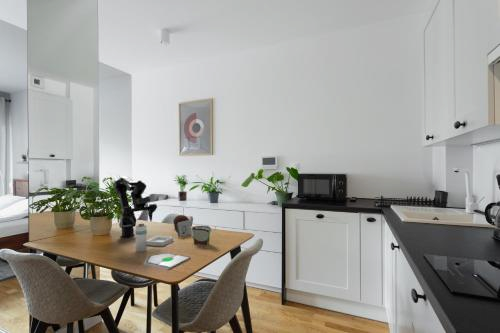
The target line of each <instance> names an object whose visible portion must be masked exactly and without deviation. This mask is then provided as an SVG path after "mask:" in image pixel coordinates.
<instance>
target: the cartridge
mask: <svg viewBox="0 0 500 333" xmlns="http://www.w3.org/2000/svg"><path fill="white" fill-rule="evenodd" d="M147 228H148V227H147V225H146V224H145V223H138V225H135V252H145V251H147V246H148V245H147V240H148V239H147V237H148V236H147V233H148V230H147Z"/></svg>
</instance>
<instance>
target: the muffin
mask: <svg viewBox="0 0 500 333" xmlns="http://www.w3.org/2000/svg"><path fill="white" fill-rule="evenodd" d="M172 221H173V227H174V230H175V231H177V226H176V224H178V223H179V222H183V221H190V219H189V217H188V216H187V215H184V214H179V215H177V216H175V217H174V218H173V220H172ZM178 230H179V228H178Z"/></svg>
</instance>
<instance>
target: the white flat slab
mask: <svg viewBox="0 0 500 333" xmlns="http://www.w3.org/2000/svg"><path fill="white" fill-rule="evenodd" d="M190 259H191V256H186V255H180V254H175V253H171V252H170V253H169V252H167V253H159V254H153V255H149V256H147V257H146V259H145V261H144V262H143V264H142V265H144V266H149V267H152V266H153V267H154V268H157V269H161V268H162V270H165V271H168V270H171V269H172V268H174V267H176V266H178V265H180V264H183V263H184V262H186V261H188V260H190Z"/></svg>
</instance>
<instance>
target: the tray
mask: <svg viewBox="0 0 500 333" xmlns="http://www.w3.org/2000/svg"><path fill="white" fill-rule="evenodd" d="M172 242H174V237H173V236H164V235H162V236H161V235H156V236H155V237H152V238H150V239H147V246H156V247H164V246H166V245H168V244H170V243H172Z"/></svg>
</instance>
